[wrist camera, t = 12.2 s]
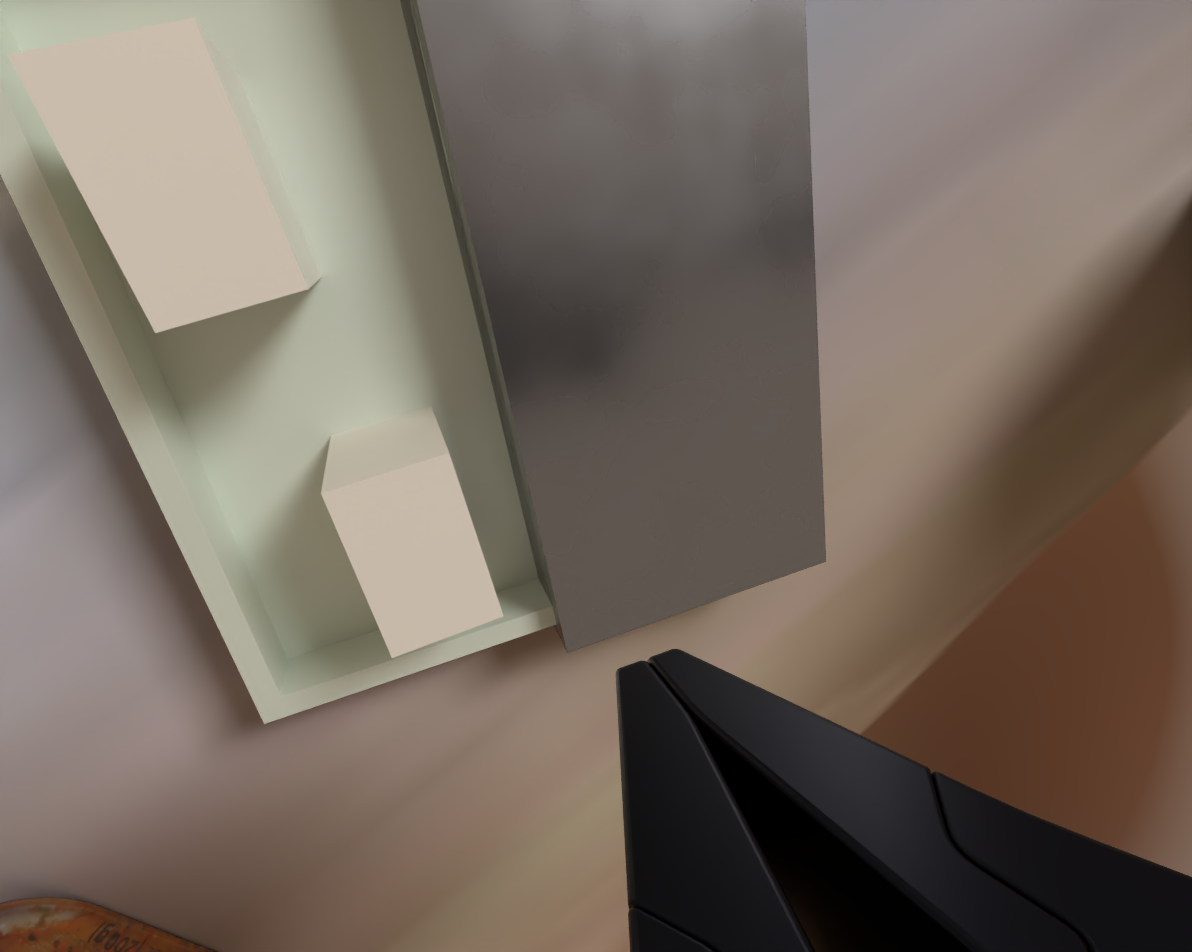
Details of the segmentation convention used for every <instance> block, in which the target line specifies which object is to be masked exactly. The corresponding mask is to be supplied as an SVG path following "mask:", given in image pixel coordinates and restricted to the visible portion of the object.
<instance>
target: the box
mask: <svg viewBox="0 0 1192 952" xmlns="http://www.w3.org/2000/svg"><path fill="white" fill-rule="evenodd" d="M410 4H411V0H410ZM411 10H412V14H413V16H414V13H413V9H412V4H411ZM193 17H194V18H195V20H196V21H197V22H198V24H199V25H200V26H201V27H202V29H203V30H204V31H205V32H206V34H207V35H208V36H209V37H210V39H211V40H212V41H213V43H214V44H215V45H216V46H217V48H218V49H219V50H220V51H221V53H222V54H223V55H224V57H225V58H226V59H227V60H228V62H229V63H230V64H231V65H232V67H233V68H234V69H235V71H236V72H237V73H238V74H239V76H240V77H241V80H242V82H243V85H244V87H245V90H246V92H247V94H248V97H249V99H250V102H251V104H252V107H253V109H254V112H255V114H256V116H257V119H258V121H259V124H260V126H261V129H262V131H263V133H264V136H265V138H266V141H267V143H268V146H269V148H270V150H271V153H272V155H273V158H274V160H275V163H276V165H277V168H278V170H279V172H280V175H281V177H282V180H283V182H284V185H285V187H286V189H287V192H288V194H289V197H290V199H291V202H292V204H293V207H294V209H295V211H296V214H297V216H298V219H299V221H300V224H301V226H302V228H303V231H304V233H305V236H306V238H307V241H308V243H309V245H310V248H311V250H312V253H313V255H314V258H315V260H316V263H317V265H318V267H319V270H320V272H321V275H322V277H321V278H320V279H319V280H318V281H317V282H316V283H315V284H313V285H312V286H311V287H310V288H309V289H308V290H304V291H301V292H297V293H294V294H290V295H287V296H283V297H280V298H276V299H273V300H269V301H266V302H262V303H259V304H255V305H252V306H248V307H245V308H241V309H238V310H234V311H231V312H227V313H224V314H220V315H217V316H214V317H210V318H207V319H203V320H200V321H196V322H193V323H189V324H186V325H182V326H179V327H175V328H172V329H168V330H165V331H161V332H158V333H155V332H154V330H153V328H152V326H151V324H150V322H149V320H148V318H147V317H146V315H145V313H144V311H143V309H142V307H141V305H140V303H139V302H138V300H137V298H136V296H135V294H134V292H133V290H132V288H131V286H130V285H129V283H128V281H127V279H126V277H125V275H124V273H123V271H122V270H121V268H120V266H119V264H118V262H117V260H116V258H115V256H114V255H113V253H112V251H111V249H110V247H109V245H108V243H107V241H106V240H105V238H104V236H103V234H102V232H101V230H100V228H99V226H98V224H97V223H96V221H95V219H94V217H93V215H92V213H91V211H90V209H89V208H88V206H87V204H86V202H85V200H84V198H83V196H82V194H81V193H80V191H79V189H78V187H77V185H76V183H75V181H74V179H73V177H72V176H71V174H70V172H69V170H68V168H67V166H66V164H65V162H64V161H63V159H62V157H61V155H60V153H59V151H58V149H57V147H56V146H55V144H54V142H53V140H52V138H51V136H50V134H49V132H48V130H47V129H46V127H45V125H44V123H43V121H42V119H41V117H40V115H39V114H38V112H37V110H36V108H35V106H34V104H33V102H32V100H31V99H30V97H29V95H28V93H27V91H26V89H25V87H24V85H23V84H22V82H21V80H20V78H19V76H18V74H17V72H16V70H15V68H14V67H13V65H12V63H11V61H10V59H9V57H8V54H13V53H18V52H23V51H28V50H33V49H38V48H43V47H48V46H53V45H58V44H63V43H68V42H73V41H78V40H83V39H88V38H93V37H98V36H103V35H108V34H113V33H118V32H123V31H128V30H133V29H138V28H143V27H148V26H153V25H158V24H163V23H168V22H173V21H178V20H183V19H188V18H193ZM414 21H415V17H414ZM415 24H416V21H415ZM416 29H417V26H416ZM417 36H418V40H419V42H420V38H419V34H418V30H417ZM419 45H420V47H421V43H419ZM421 51H422V47H421ZM421 53H422V55H423V51H422V52H421ZM422 58H423V62H424V65H425V69H426V70H425V71H426V73H427V68H426V64H425V60H424V56H422ZM427 78H428V84H429V87H430V88H429V89H430V92H431V94H432V90H431V85H430V81H429V77H428V73H427ZM431 97H432V99H433V105H434V109H435V113H436V119H437V121H438V126H439V127H438V129H439V131H440V137H441V141H442V144H443V150H444V154H445V160H446V163H447V162H448V158H447V154H446V150H445V145H444V141H443V137H442V132H441V128H440V124H439V120H438V115H437V111H436V107H435V103H434V98H433V94H432V95H431ZM448 163H449V162H448ZM448 163H447V166H448V167H447V168H448V170H450V167H449V165H448ZM449 174H451V171H449ZM0 175H1V177H2V179H3V181H4V183H5V185H6V188H7V190H8V192H9V194H10V196H11V198H12V200H13V202H14V204H15V206H16V208H17V210H18V213H19V215H20V217H21V219H22V221H23V223H24V225H25V227H26V229H27V231H28V233H29V235H30V237H31V240H32V242H33V244H34V246H35V248H36V250H37V252H38V254H39V256H40V258H41V260H42V262H43V265H44V267H45V269H46V271H47V273H48V275H49V277H50V279H51V281H52V283H53V285H54V287H55V290H56V292H57V294H58V296H59V298H60V300H61V302H62V304H63V306H64V308H65V310H66V312H67V314H68V317H69V319H70V321H71V323H72V325H73V327H74V329H75V331H76V333H77V335H78V337H79V339H80V342H81V344H82V346H83V348H84V350H85V352H86V354H87V356H88V358H89V360H90V362H91V364H92V366H93V369H94V371H95V373H96V375H97V377H98V379H99V381H100V383H101V385H102V387H103V389H104V391H105V394H106V396H107V398H108V400H109V402H110V404H111V406H112V408H113V410H114V412H115V414H116V416H117V419H118V421H119V423H120V425H121V427H122V429H123V431H124V433H125V435H126V437H127V439H128V441H129V443H130V446H131V448H132V450H133V452H134V454H135V456H136V458H137V460H138V462H139V464H140V466H141V468H142V471H143V473H144V475H145V477H146V479H147V481H148V483H149V485H150V487H151V489H152V491H153V493H154V496H155V498H156V500H157V502H158V504H159V506H160V508H161V510H162V512H163V514H164V516H165V518H166V520H167V523H168V525H169V527H170V529H171V531H172V533H173V535H174V537H175V539H176V541H177V543H178V545H179V548H180V550H181V552H182V554H183V556H184V558H185V560H186V562H187V564H188V566H189V568H190V570H191V573H192V575H193V577H194V579H195V581H196V583H197V585H198V587H199V589H200V591H201V593H202V595H203V597H204V600H205V602H206V604H207V606H208V608H209V610H210V612H211V614H212V616H213V618H214V620H215V622H216V625H217V627H218V629H219V631H220V633H221V635H222V637H223V639H224V641H225V643H226V645H227V647H228V650H229V652H230V654H231V656H232V658H233V660H234V662H235V664H236V666H237V668H238V670H239V672H240V674H241V677H242V679H243V681H244V683H245V685H246V687H247V689H248V691H249V693H250V695H251V697H252V699H253V702H254V704H255V706H256V708H257V710H258V712H259V714H260V716H261V718H262V720H263V722H264V724H266V723H269V722H272V721H275V720H278V719H281V718H284V717H286V716H289V715H292V714H295V713H298V712H301V711H304V710H307V709H310V708H313V707H316V706H319V705H322V704H325V703H328V702H330V701H333V700H336V699H339V698H342V697H345V696H348V695H351V694H354V693H357V692H360V691H363V690H366V689H369V688H372V687H374V686H377V685H380V684H383V683H386V682H389V681H392V680H395V679H398V678H401V677H404V676H407V675H410V674H413V673H416V672H418V671H421V670H424V669H427V668H430V667H433V666H436V665H439V664H442V663H445V662H448V661H451V660H454V659H457V658H460V657H462V656H465V655H468V654H471V653H474V652H477V651H480V650H483V649H486V648H489V647H492V646H495V645H498V644H501V643H504V642H506V641H509V640H512V639H515V638H518V637H521V636H524V635H527V634H530V633H533V632H536V631H539V630H542V629H545V628H548V627H550V626H553V625H556V620H555V615H554V611H553V607H552V604H551V602H550V601H549V599H548V597H547V595H546V593H545V591H544V589H543V587H542V585H541V583H540V581H539V579H538V575H537V570H536V566H535V562H534V558H533V554H532V550H531V545H530V541H529V537H528V533H527V529H526V525H525V520H524V516H523V512H522V508H521V504H520V499H519V495H518V491H517V487H516V483H515V479H514V474H513V470H512V466H511V462H510V458H509V453H508V449H507V445H506V441H505V437H504V433H503V428H502V424H501V420H500V416H499V412H498V408H497V403H496V399H495V395H494V391H493V387H492V382H491V378H490V374H489V370H488V366H487V362H486V357H485V353H484V349H483V345H482V341H481V336H480V332H479V328H478V324H477V320H476V316H475V311H474V307H473V303H472V299H471V295H470V290H469V286H468V282H467V278H466V274H465V270H464V265H463V261H462V257H461V253H460V249H459V245H458V240H457V236H456V232H455V228H454V224H453V219H452V215H451V211H450V207H449V203H448V199H447V194H446V190H445V186H444V182H443V178H442V173H441V169H440V165H439V161H438V157H437V153H436V148H435V144H434V140H433V136H432V132H431V128H430V123H429V119H428V115H427V111H426V107H425V102H424V98H423V94H422V90H421V86H420V82H419V77H418V73H417V69H416V65H415V61H414V56H413V52H412V48H411V44H410V40H409V36H408V31H407V27H406V23H405V19H404V15H403V11H402V6H401V2H400V0H0ZM451 176H452V175H449V177H450V181H451V182H452V183H453V181H452V180H453V179H452V177H451ZM452 183H451V184H452ZM453 186H454V184H453ZM452 188H453V187H452ZM453 189H454V188H453ZM452 191H455V190H452ZM455 195H456V194H455V192H454V196H455ZM455 197H456V196H455ZM455 197H454V198H455ZM456 203H458V202H457V201H456ZM457 206H458V205H457ZM457 209H458V208H457ZM458 212H459V211H458ZM459 216H461V215H459ZM430 406H431V407H432V410H433V412H434V415H435V417H436V420H437V422H438V425H439V428H440V430H441V433H442V435H443V438H444V441H445V443H446V446H447V448H448V451H449V454H450V457H451V460H452V463H453V466H454V469H455V472H456V475H457V478H458V481H459V484H460V487H461V490H462V493H463V496H464V499H465V502H466V505H467V508H468V511H469V514H470V517H471V520H472V523H473V526H474V529H475V532H476V535H477V538H478V541H479V544H480V547H481V550H482V553H483V556H484V559H485V562H486V565H487V568H488V571H489V574H490V577H491V580H492V583H493V586H494V589H495V592H496V595H497V598H498V601H499V604H500V607H501V610H502V613H503V617H500V618H498V619H495V620H493V621H490V622H487V623H485V624H482V625H479V626H477V627H474V628H471V629H469V630H466V631H463V632H461V633H458V634H455V635H453V636H450V637H447V638H445V639H442V640H439V641H437V642H434V643H431V644H429V645H426V646H423V647H421V648H418V649H415V650H413V651H410V652H408V653H405V654H402V655H400V656H397V657H394V658H392V657H391V655H390V652H389V650H388V648H387V646H386V643H385V641H384V639H383V636H382V634H381V632H380V629H379V627H378V625H377V622H376V620H375V618H374V615H373V613H372V611H371V608H370V606H369V604H368V601H367V599H366V597H365V595H364V592H363V590H362V588H361V585H360V583H359V581H358V578H357V576H356V574H355V571H354V569H353V567H352V564H351V562H350V560H349V557H348V555H347V553H346V550H345V548H344V546H343V544H342V541H341V539H340V537H339V534H338V532H337V530H336V527H335V525H334V523H333V520H332V518H331V516H330V513H329V511H328V509H327V506H326V504H325V502H324V499H323V497H322V495H321V490H322V484H323V479H324V473H325V467H326V461H327V455H328V449H329V444H330V438H331V436H333V435H336V434H339V433H343V432H346V431H349V430H353V429H356V428H360V427H363V426H366V425H370V424H373V423H376V422H380V421H383V420H386V419H390V418H393V417H396V416H400V415H403V414H406V413H410V412H413V411H416V410H420V409H423V408H426V407H430Z"/></svg>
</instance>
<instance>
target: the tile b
mask: <svg viewBox="0 0 1192 952" xmlns="http://www.w3.org/2000/svg"><path fill="white" fill-rule="evenodd" d="M321 495H322V497H323V499H324V502H325V504H326V506H327V509H328V511H329V513H330V516H331V518H332V520H333V523H334V525H335V527H336V530H337V532H338V534H339V537H340V539H341V541H342V544H343V546H344V548H345V550H346V553H347V555H348V557H349V560H350V562H351V564H352V567H353V569H354V571H355V574H356V576H357V578H358V581H359V583H360V585H361V588H362V590H363V592H364V595H365V597H366V599H367V601H368V604H369V606H370V608H371V611H372V613H373V615H374V618H375V620H376V622H377V625H378V627H379V629H380V632H381V634H382V636H383V639H384V641H385V643H386V646H387V648H388V650H389V652H390V655H391V657H392V658H394V657H397V656H400V655H402V654H405V653H408V652H410V651H413V650H415V649H418V648H421V647H423V646H426V645H429V644H431V643H434V642H437V641H439V640H442V639H445V638H447V637H450V636H453V635H455V634H458V633H461V632H463V631H466V630H469V629H471V628H474V627H477V626H479V625H482V624H485V623H487V622H490V621H493V620H495V619H498V618H500V617H503V613H502V610H501V607H500V604H499V601H498V598H497V595H496V592H495V589H494V586H493V583H492V580H491V577H490V574H489V571H488V568H487V565H486V562H485V559H484V556H483V553H482V550H481V547H480V544H479V541H478V538H477V535H476V532H475V529H474V526H473V523H472V520H471V517H470V514H469V511H468V508H467V505H466V502H465V499H464V496H463V493H462V490H461V487H460V484H459V481H458V478H457V475H456V472H455V469H454V466H453V463H452V460H451V457H450V454H449V451H448V448H447V446H446V443H445V441H444V438H443V435H442V433H441V430H440V428H439V425H438V422H437V420H436V417H435V415H434V412H433V410H432V407H431V406H430V407H426V408H423V409H420V410H416V411H413V412H410V413H406V414H403V415H400V416H396V417H393V418H390V419H386V420H383V421H380V422H376V423H373V424H370V425H366V426H363V427H360V428H356V429H353V430H349V431H346V432H343V433H339V434H336V435H333V436H331V438H330V444H329V449H328V455H327V461H326V467H325V473H324V479H323V484H322V490H321Z"/></svg>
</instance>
